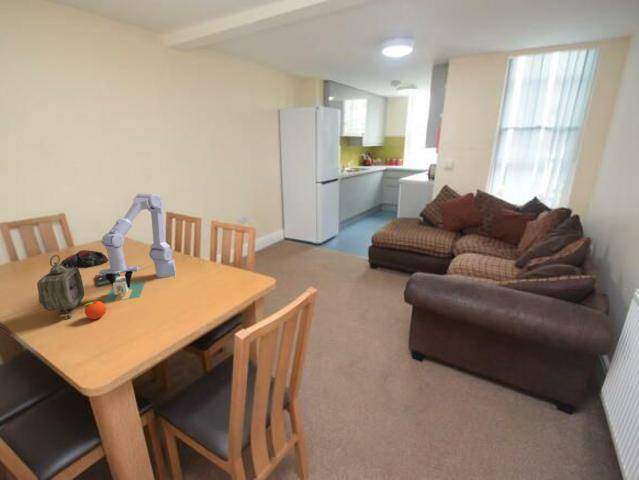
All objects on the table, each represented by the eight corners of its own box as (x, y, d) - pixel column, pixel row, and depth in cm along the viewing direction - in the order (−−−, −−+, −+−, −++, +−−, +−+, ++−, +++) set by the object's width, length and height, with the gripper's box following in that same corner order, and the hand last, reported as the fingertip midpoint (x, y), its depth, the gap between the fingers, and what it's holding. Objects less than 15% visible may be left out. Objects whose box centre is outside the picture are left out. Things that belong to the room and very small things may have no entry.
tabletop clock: (72, 319, 123) (57, 260, 115) (45, 323, 120) (27, 263, 113) (87, 302, 136) (74, 248, 129) (63, 305, 134) (48, 250, 126)
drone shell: (112, 262, 183) (109, 249, 181) (72, 273, 168) (68, 259, 166) (97, 255, 195) (94, 243, 192) (58, 264, 180) (55, 251, 177)
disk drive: (95, 280, 160) (98, 290, 149) (94, 275, 159) (97, 284, 148) (119, 275, 166) (123, 284, 155) (118, 270, 165) (122, 279, 154)
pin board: (146, 282, 156) (144, 274, 155) (139, 299, 139) (138, 291, 138) (113, 286, 152) (112, 279, 150) (103, 304, 135) (101, 296, 133)
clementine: (81, 324, 120) (77, 308, 118) (85, 315, 126) (82, 300, 124) (105, 320, 123) (102, 304, 121) (109, 311, 129) (105, 296, 127)
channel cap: (130, 285, 145) (128, 275, 143) (126, 293, 137) (124, 282, 136) (119, 286, 143) (117, 276, 142) (114, 294, 136) (112, 284, 134)
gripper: (94, 265, 130) (101, 294, 134) (133, 260, 135) (139, 289, 139) (99, 259, 136) (105, 287, 140) (136, 255, 141) (141, 282, 145)
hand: (122, 287), depth 140 cm, fingers closed on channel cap, 5 cm apart
